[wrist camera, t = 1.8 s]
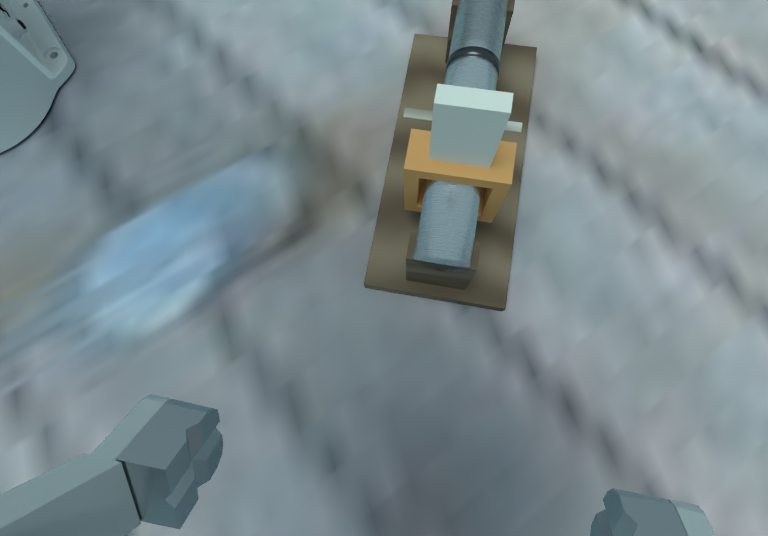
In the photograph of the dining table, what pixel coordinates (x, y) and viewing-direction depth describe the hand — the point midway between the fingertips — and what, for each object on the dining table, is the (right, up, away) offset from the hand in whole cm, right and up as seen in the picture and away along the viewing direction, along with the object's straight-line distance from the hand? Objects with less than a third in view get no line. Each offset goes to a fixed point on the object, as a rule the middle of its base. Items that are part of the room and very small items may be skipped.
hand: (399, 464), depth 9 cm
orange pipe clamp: (+5, +10, +26) cm, 28 cm away
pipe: (+6, +15, +26) cm, 31 cm away
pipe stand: (+6, +14, +32) cm, 35 cm away
